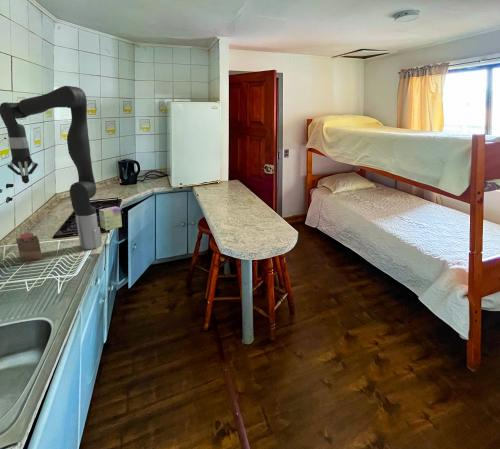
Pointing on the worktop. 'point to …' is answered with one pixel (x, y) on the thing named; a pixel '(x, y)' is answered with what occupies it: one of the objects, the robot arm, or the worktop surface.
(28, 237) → the red mushroom
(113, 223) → the box
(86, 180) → the robot arm
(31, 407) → the worktop surface
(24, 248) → the housing
